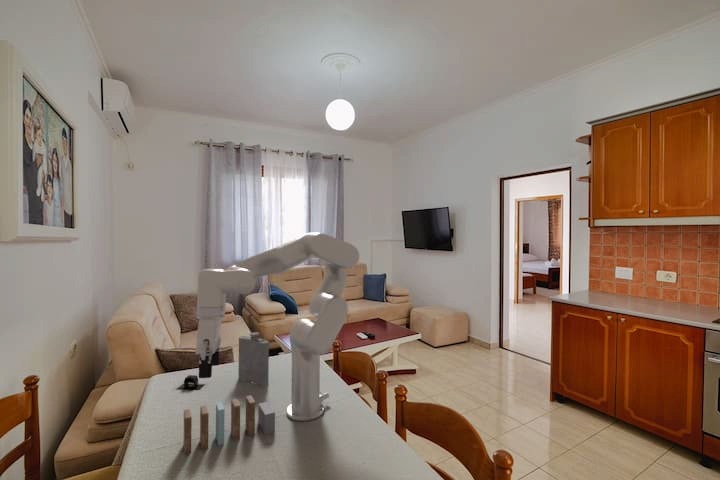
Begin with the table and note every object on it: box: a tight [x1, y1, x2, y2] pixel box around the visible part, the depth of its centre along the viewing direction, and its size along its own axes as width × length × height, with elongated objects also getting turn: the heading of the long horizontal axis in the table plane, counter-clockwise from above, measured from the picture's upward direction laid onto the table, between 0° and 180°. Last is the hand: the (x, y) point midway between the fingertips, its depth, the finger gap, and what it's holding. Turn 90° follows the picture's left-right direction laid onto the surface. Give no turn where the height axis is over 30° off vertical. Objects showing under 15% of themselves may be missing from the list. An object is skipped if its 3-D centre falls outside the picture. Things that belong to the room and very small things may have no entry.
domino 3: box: [215, 401, 226, 446], centre depth 100 cm, size 2×5×10 cm, turn 31°
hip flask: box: [238, 331, 270, 388], centre depth 141 cm, size 16×4×20 cm, turn 60°
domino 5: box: [245, 394, 256, 437], centre depth 104 cm, size 2×5×10 cm, turn 31°
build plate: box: [175, 374, 206, 391], centre depth 135 cm, size 12×7×5 cm, turn 87°
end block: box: [257, 401, 276, 435], centre depth 107 cm, size 3×8×6 cm, turn 31°
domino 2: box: [199, 404, 209, 451], centre depth 97 cm, size 2×5×10 cm, turn 31°
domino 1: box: [183, 408, 193, 455], centre depth 95 cm, size 2×5×10 cm, turn 31°
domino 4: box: [230, 398, 241, 441], centre depth 102 cm, size 2×5×10 cm, turn 31°
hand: (209, 370), depth 98 cm, fingers open, 9 cm apart
